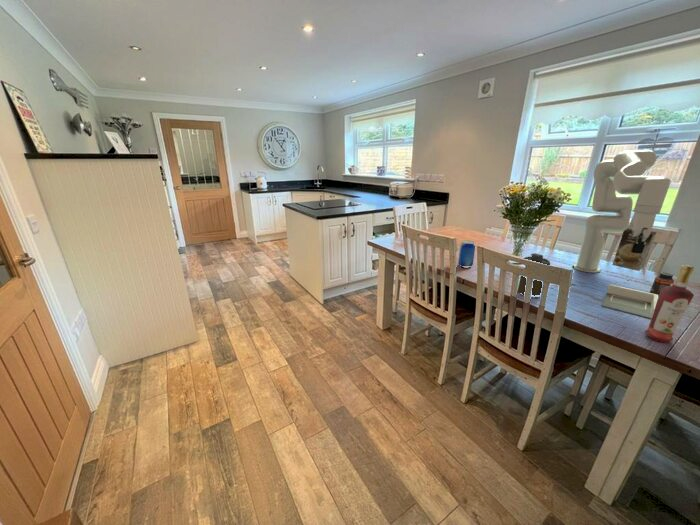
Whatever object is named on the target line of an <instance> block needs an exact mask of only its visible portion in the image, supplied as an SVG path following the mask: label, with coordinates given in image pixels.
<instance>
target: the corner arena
mask: <svg viewBox="0 0 700 525" xmlns="http://www.w3.org/2000/svg"><path fill="white" fill-rule="evenodd" d="M657 300H658V295H657V294H653V293H650V292H648V291H643V290H638V289H634V288H628V287H624V286H619V285H615V284H608V287H607V291H606V293H605V297H604V299H603V301H602V304H601V307H602V308H607V309H610V310H615V311H619V312H623V313H627V314H631V315H634V316H638V317H640V318H641V317H642V318H646V319H650V320H651V319H652V316H653V313H654V310H655V307H656V303H657Z"/></svg>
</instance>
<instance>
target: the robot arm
mask: <svg viewBox="0 0 700 525" xmlns="http://www.w3.org/2000/svg"><path fill="white" fill-rule="evenodd" d="M656 161H657V154H656V152H655V151H653V150H650V149H643V150H624V151H622V152H618V154H616V155H615V156H614V157H613V159H607V160H602V161H599V162H598V163H597V164H596V165H595V168H594V171H593V180H594V193H593V197H592V198H593V199H592V204H591V205H592V206H591V207H592V209H591V210H592V211H593V212H595V213H605V214H594V215H590V216H589V217H587V219H586V221H585V228H584V235H583V239H582V244H581V247H580V251H579V255H578V258H577V262H576V263H573V264H572V267H573V266H574V268H573V269H574V270H577V271H581V272H584V273H591V274H592V273H593V274H594V273H600V272H601V270H602V269H601V268H600V267H599V265H600V262H601V258H602V254H603V253H604V252H603V251H604V247H605V244H606V239H605V237H604V235H603V234H623V232H624V230H626V229H629V230H631V231H632V233H631V237H636V241H635V243H634V245H633V248H632V250H631V252H632V253H640V254H641V253H642V252H643V249H644V246H645V244H646V239H647V238H648V237H649V235H650V233H651V231H652V230H653V227H654V225H655V224H654V223H655V221H656V216H657V215H660V214H661V213H660V212H661V211H662V207H663V205H664V202H665V199H666V197H667V194H668V190H669V188H670V185H671V183H672V182H671V179H670V178H668V177H663V176H658V175H644V174H645V172H646V171H648V170H649V169H651V168H652V167H653V166H654V165H655V164H656ZM612 178H613V179H612ZM616 192H617V193H619V194H616ZM630 195H638V196H637V199H636V202H635V205H634V208H633V204H634V202H633V198H632V197H631V196H630ZM632 212H633V215H632V218H631V214H632ZM606 213H607V214H606ZM609 214H613V215H609ZM614 214H616V215H614ZM641 233H642V236H638V235H640V234H641ZM638 240H639V241H638Z"/></svg>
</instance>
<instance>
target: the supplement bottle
mask: <svg viewBox="0 0 700 525" xmlns="http://www.w3.org/2000/svg"><path fill="white" fill-rule="evenodd" d="M673 277H674V274H672V273H669V272H666V271H665V272H663V271H661V272H660V273H659V275H658V276H655V277H654V279H653V283H652V285H651V288H650V290H649V293H653V294H657V295H658V297H659V294H660V291H661V288H662V287H666V286H673V284H674V282H675V280H674V278H673Z"/></svg>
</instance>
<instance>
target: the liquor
mask: <svg viewBox="0 0 700 525" xmlns="http://www.w3.org/2000/svg"><path fill="white" fill-rule="evenodd" d="M694 268H695V267H694V266H692V265H688V264H681V266H680V268H679V273H678V276H676V279H675V280H674V283H673V286H666V287H662V288H661V291H660V294H659V297H658V300H657V303H656V307H655V310H654V313H653V316H652V319H650V323H649V325H648V328H647V329H645V331H644V333H645V335H647V336H648V338H650V339H651V338H652V339H651V340H653V339H654V340H653V341H656V340H657V341H656V342H659V341H661V342H660V343H667V342H673V340H674V339H673V335H674V334H675V332H676V329H677V327H678V326H679V323H680V321H681V320H682V318H683V316H684V315H685V313H686V311H687V309H688V307H689V306H690V303H691V302H692V300H693V298H694V296H695V295H694V293H693V292H692V291H691V290H689V289H687V286H688V283H689V279H690V276H691V275H692V273H693V271H694Z"/></svg>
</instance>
